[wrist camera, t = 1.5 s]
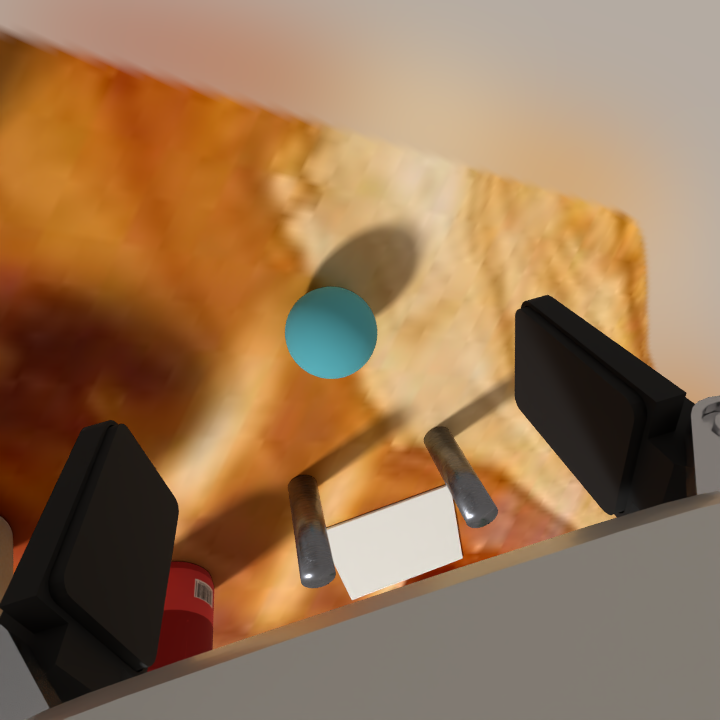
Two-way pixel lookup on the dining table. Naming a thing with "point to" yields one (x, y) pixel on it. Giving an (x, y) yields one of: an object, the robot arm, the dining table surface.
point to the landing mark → (396, 542)
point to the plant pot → (5, 557)
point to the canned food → (186, 615)
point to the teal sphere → (331, 332)
